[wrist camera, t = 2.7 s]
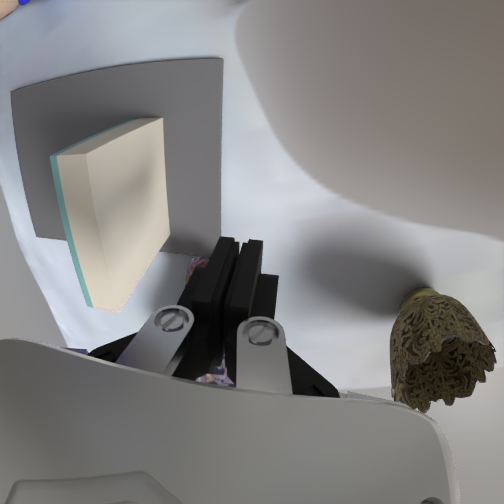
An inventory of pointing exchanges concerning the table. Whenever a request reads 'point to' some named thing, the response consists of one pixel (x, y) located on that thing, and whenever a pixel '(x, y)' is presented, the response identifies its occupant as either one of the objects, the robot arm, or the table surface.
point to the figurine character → (9, 6)
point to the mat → (119, 111)
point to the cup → (436, 351)
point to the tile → (113, 207)
